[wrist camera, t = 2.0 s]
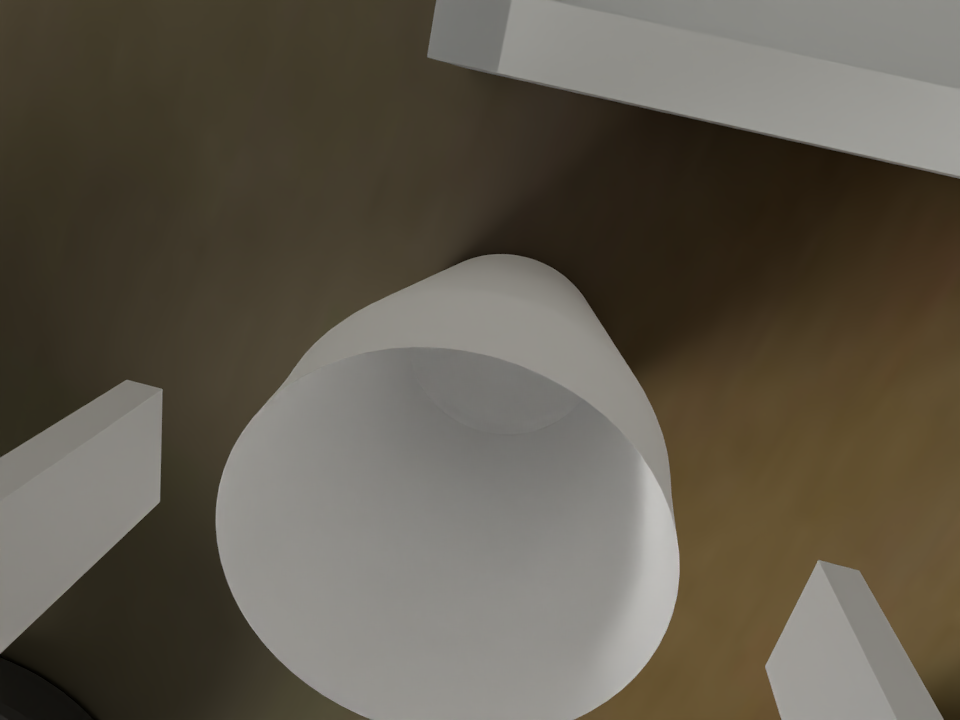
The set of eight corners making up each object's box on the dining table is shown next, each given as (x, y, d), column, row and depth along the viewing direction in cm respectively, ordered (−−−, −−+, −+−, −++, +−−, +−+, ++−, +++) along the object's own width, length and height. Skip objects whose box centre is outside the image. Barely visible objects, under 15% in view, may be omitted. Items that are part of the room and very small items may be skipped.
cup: (326, 333, 24) (117, 530, 13) (512, 156, 21) (442, 219, 10) (496, 502, 26) (435, 805, 15) (690, 360, 23) (797, 607, 12)
